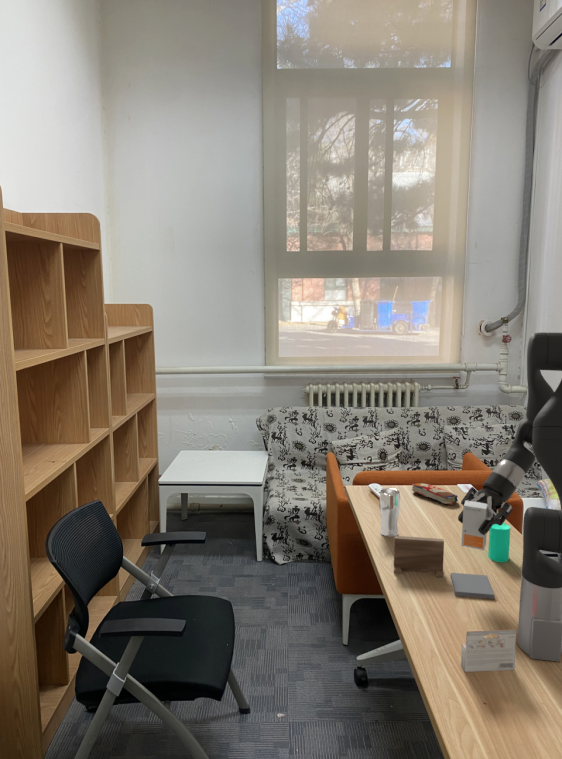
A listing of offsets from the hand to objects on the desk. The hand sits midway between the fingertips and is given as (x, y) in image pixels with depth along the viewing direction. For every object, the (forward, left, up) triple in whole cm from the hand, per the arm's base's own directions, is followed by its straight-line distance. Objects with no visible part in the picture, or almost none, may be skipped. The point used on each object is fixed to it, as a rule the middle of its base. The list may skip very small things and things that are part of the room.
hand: (470, 527), depth 143 cm
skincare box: (+1, -1, -6) cm, 6 cm away
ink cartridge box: (-32, +1, -18) cm, 37 cm away
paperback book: (+67, +2, -18) cm, 69 cm away
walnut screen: (+8, +13, -18) cm, 23 cm away
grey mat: (+1, -1, -18) cm, 18 cm away
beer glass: (+32, +21, -18) cm, 42 cm away
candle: (+20, -12, -18) cm, 30 cm away
